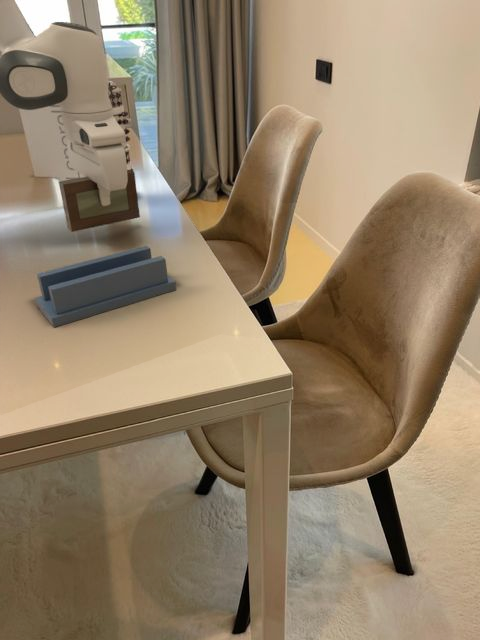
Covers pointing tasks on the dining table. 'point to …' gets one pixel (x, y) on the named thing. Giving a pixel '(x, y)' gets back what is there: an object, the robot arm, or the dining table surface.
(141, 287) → the holder
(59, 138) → the white tall rectangular block
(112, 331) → the dining table surface
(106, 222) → the frame
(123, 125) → the decorative candle
